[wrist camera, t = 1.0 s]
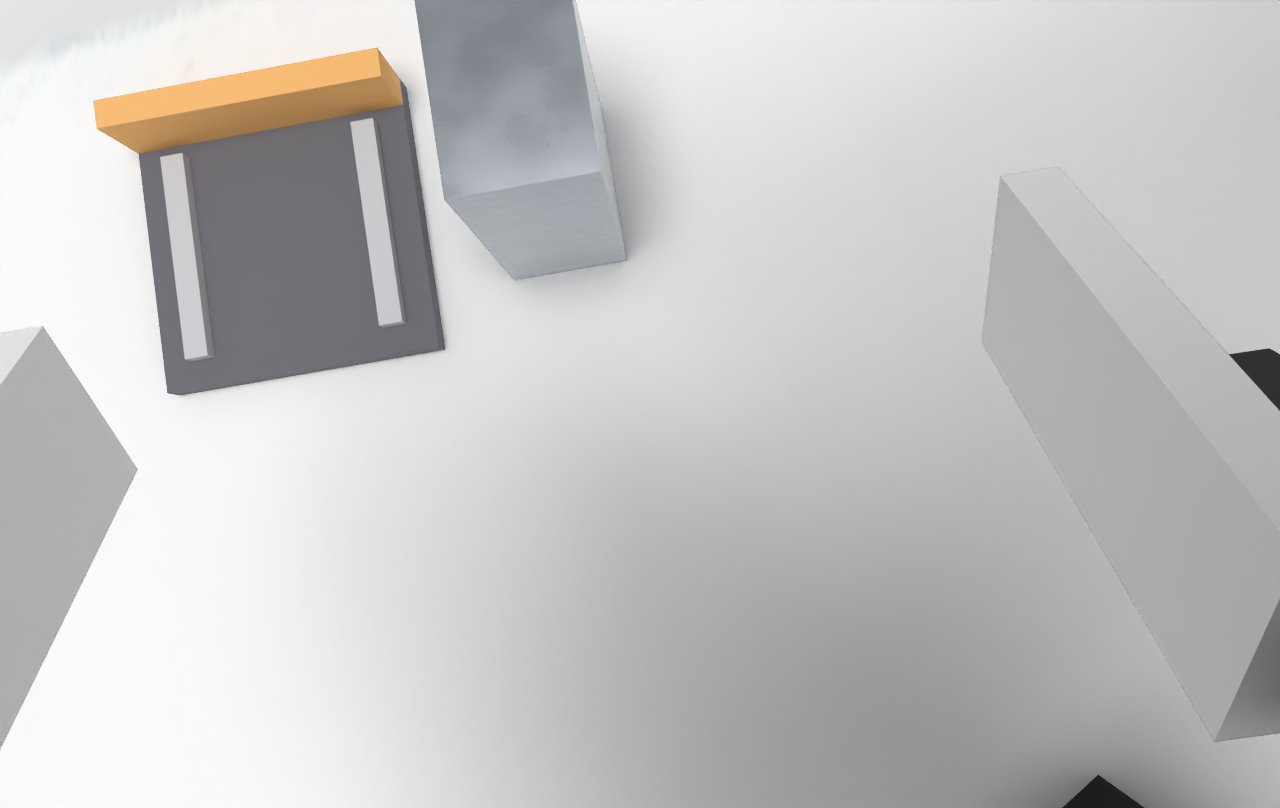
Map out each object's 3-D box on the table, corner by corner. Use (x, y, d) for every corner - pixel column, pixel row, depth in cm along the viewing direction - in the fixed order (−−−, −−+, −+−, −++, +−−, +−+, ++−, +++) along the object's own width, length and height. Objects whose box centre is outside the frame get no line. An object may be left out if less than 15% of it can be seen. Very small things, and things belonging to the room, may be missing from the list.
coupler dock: (406, 88, 43) (377, 47, 39) (444, 349, 42) (419, 335, 38) (148, 135, 43) (93, 100, 39) (179, 395, 42) (127, 386, 38)
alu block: (600, 102, 42) (564, -47, 31) (626, 260, 42) (600, 171, 30) (490, 122, 43) (412, -18, 31) (514, 280, 42) (444, 199, 30)
